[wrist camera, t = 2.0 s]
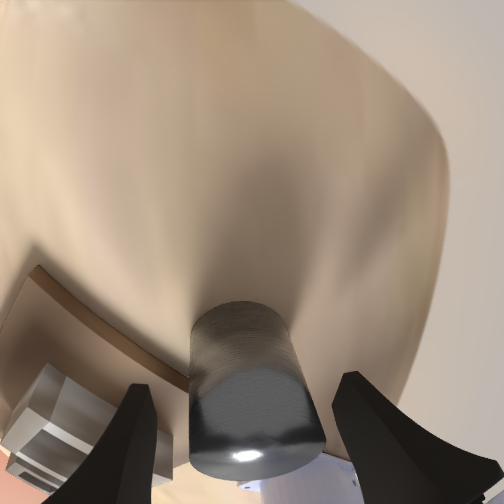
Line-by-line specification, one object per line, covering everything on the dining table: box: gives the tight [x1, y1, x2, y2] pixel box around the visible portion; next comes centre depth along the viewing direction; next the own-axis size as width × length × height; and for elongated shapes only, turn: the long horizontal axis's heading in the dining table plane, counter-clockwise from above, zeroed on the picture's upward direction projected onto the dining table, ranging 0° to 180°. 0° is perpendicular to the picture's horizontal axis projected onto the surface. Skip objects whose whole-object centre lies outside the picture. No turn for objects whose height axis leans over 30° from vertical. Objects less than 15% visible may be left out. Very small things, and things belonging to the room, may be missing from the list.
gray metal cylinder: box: [189, 301, 326, 481], centre depth 11 cm, size 4×4×6 cm
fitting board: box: [0, 265, 190, 495], centre depth 13 cm, size 14×20×4 cm
